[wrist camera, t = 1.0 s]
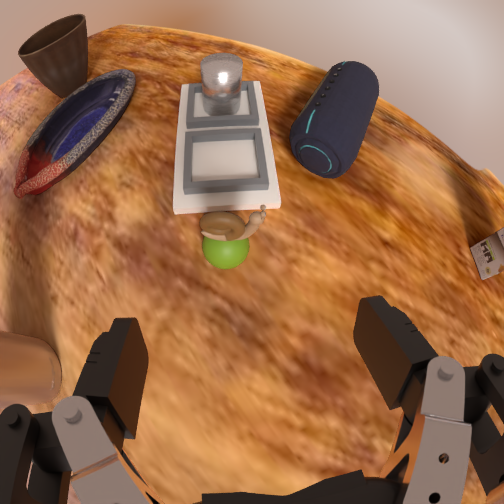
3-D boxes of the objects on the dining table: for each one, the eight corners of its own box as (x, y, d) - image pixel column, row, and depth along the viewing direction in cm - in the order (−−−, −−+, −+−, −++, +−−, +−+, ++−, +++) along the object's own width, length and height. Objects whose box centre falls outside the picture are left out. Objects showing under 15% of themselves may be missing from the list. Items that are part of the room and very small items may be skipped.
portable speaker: (326, 85, 50) (338, 46, 41) (371, 106, 49) (389, 69, 40) (274, 167, 42) (285, 119, 33) (336, 197, 41) (361, 155, 32)
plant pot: (115, 66, 50) (99, 9, 35) (76, 111, 44) (48, 50, 29) (70, 68, 50) (52, 19, 35) (33, 109, 45) (5, 59, 30)
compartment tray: (174, 214, 38) (170, 203, 35) (182, 90, 47) (181, 78, 44) (279, 208, 39) (283, 196, 37) (259, 87, 48) (260, 74, 45)
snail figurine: (255, 275, 36) (266, 238, 25) (202, 273, 36) (189, 234, 24) (256, 234, 38) (266, 183, 27) (206, 232, 38) (196, 180, 26)
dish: (161, 92, 47) (157, 72, 42) (47, 223, 37) (31, 208, 32) (108, 78, 48) (102, 61, 44) (7, 189, 38) (-7, 175, 34)
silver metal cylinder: (203, 119, 42) (199, 74, 34) (203, 95, 44) (201, 54, 36) (241, 117, 43) (244, 73, 34) (238, 94, 45) (241, 52, 36)
